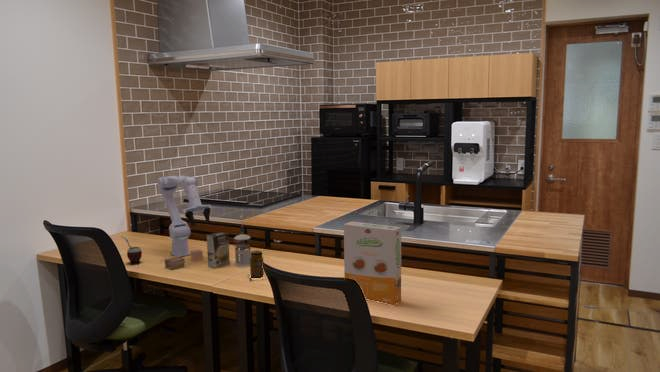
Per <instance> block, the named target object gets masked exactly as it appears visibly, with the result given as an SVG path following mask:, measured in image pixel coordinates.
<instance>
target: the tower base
mask: <svg viewBox="0 0 660 372" xmlns="http://www.w3.org/2000/svg"><path fill="white" fill-rule="evenodd" d="M164 266H165V268H166V269H168V270H170V271H173V270H178V269H183V268H185V263H183V264H179V265H175V266H170V265H167V264H165V263H164Z"/></svg>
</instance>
